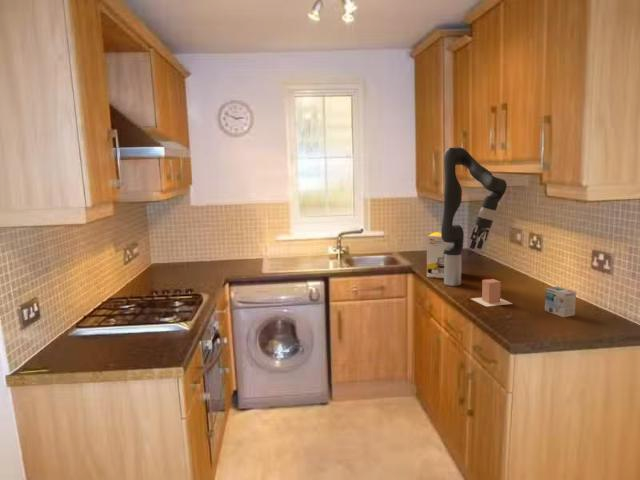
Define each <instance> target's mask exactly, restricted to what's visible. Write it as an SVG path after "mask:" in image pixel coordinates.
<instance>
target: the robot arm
mask: <svg viewBox="0 0 640 480" xmlns="http://www.w3.org/2000/svg"><path fill="white" fill-rule="evenodd" d="M443 165H444V167H443V168H444V193H443V216H442V224H441V231H440V232H441V236H442V239H443V241H444V242H451V244H450V245H449V246H448V247H447V248H445V250H444V278H443V284H444V285H446V286H452V287H455V286H460V285H462V251H463V248H464V237H465V236H464V235H465V234H464V228H463V227H462V226H461V225H459V224H453V223H454V218H455V215H456V213H457V212H458V210H459V208H460V206H461V204H462V201H463V200H462V199H463V198H462V197H463V193H462V192H463V189H462V185H461V183H460V181H459V180H458V178H457V174H456V173H457V172H456V166H460V165H461V166H464V167H465V168H466V169H467V170H468V171H469V174H470V176H471V177H472V178H474V180H476V181H477V182H479V183H480V184H481V185H482V186H483V187H484V189H486V190H487V191H489V192H491V193H490V194H489V195H486V196H484V198H483V200H482V204H481V207H480V209H479V211H478V214H477V217H476V220H475V225H476V226H477V227H474V228H473V230H472V232H471V236H470V240H471V243H470V245H469V248H470V249H471V250H475V249H478V250H482V248H483V245H484V243H485V242H486V241H487V239H488V235H489V233H490V229H491V228H492V224H493V223H494V220H495V217H496V211H497V208H498V205H499V203H500V201H501V200H502V199H503V196H504V195H505V193H506V192H507V191H506V190H507V188H508V187H507V185H508V184H507V182H506V180H504V179H502V178H499V177H496V176H494V175H493V173H492V172H491V171H490V170H488V169H487V168H486V167H484V166H483V165H481V163H479V162H478V161H477V160H476V159H475V158H474V157H473V156H472V155H471V154H470V153H469V152H468V151H467V150H466V149H465V148H464V147H448V148H446V150H445V151H444V156H443Z"/></svg>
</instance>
